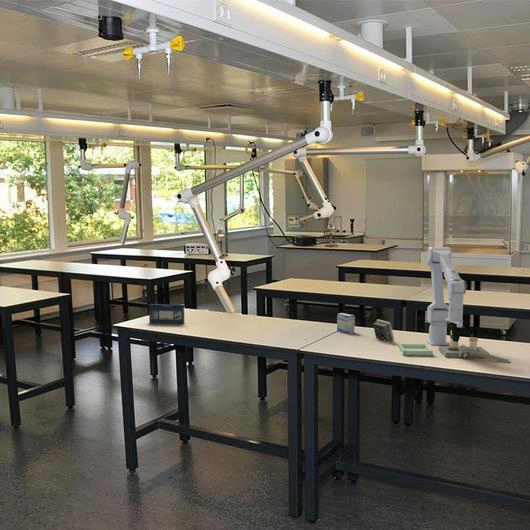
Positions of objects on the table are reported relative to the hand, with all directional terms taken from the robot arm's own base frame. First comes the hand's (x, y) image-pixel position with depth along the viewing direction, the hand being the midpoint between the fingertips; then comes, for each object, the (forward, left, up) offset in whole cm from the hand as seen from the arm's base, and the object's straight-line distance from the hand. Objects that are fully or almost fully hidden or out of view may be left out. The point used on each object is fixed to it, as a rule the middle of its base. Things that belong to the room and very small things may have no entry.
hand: (454, 340), depth 257 cm
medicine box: (-41, -42, -6) cm, 59 cm away
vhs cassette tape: (-55, -134, -6) cm, 145 cm away
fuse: (0, +8, -6) cm, 10 cm away
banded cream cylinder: (0, 0, -3) cm, 3 cm away
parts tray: (-2, -16, -6) cm, 17 cm away
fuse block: (0, +4, -6) cm, 7 cm away
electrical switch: (-24, -26, -6) cm, 36 cm away
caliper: (+9, +10, -6) cm, 15 cm away
